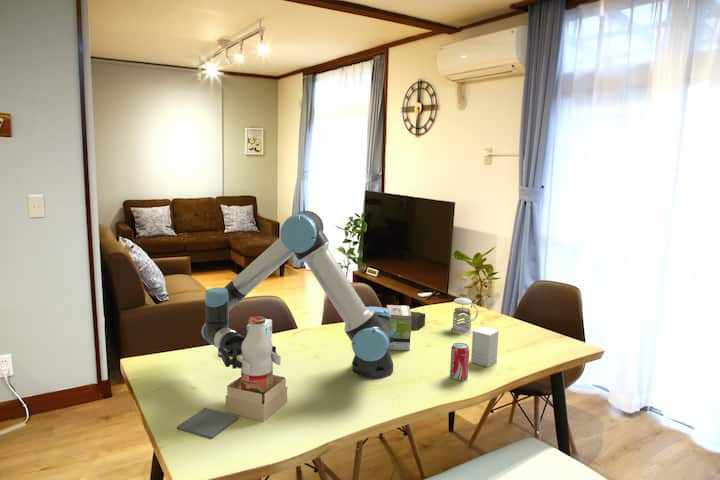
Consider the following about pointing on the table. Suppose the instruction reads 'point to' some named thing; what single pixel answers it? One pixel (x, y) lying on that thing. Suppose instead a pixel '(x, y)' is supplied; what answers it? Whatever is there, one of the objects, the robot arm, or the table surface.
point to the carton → (256, 399)
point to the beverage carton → (417, 320)
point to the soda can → (459, 361)
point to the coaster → (208, 423)
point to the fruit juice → (257, 358)
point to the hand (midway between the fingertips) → (264, 364)
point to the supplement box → (484, 346)
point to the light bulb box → (266, 328)
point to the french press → (462, 316)
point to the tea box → (400, 327)
